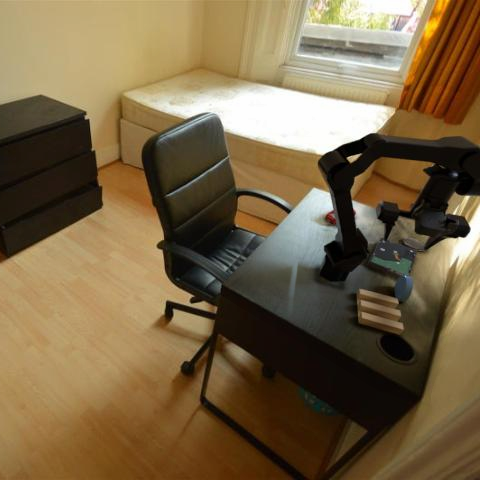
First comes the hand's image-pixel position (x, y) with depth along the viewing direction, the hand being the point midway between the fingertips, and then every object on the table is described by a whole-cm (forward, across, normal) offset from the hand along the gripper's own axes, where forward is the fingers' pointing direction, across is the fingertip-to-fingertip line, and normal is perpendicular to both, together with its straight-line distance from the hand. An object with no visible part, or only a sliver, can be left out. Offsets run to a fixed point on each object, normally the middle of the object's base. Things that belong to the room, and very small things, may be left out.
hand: (404, 244), depth 87 cm
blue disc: (+13, +3, -6) cm, 15 cm away
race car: (+13, -11, +28) cm, 33 cm away
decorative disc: (+13, +11, +21) cm, 27 cm away
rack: (+13, -3, -15) cm, 20 cm away
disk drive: (+13, +3, +9) cm, 16 cm away
